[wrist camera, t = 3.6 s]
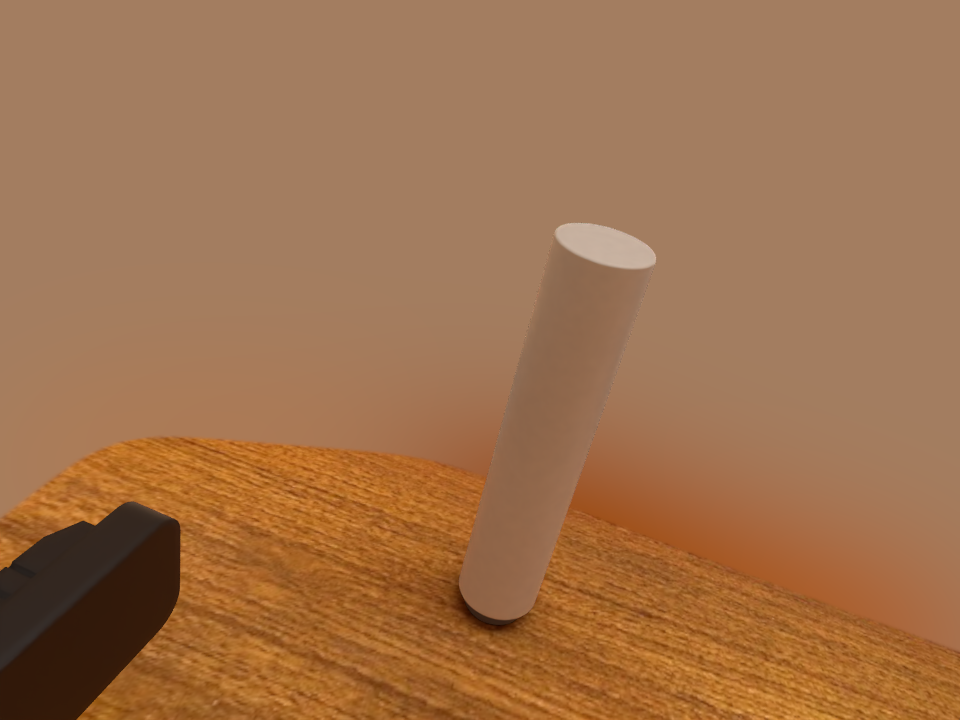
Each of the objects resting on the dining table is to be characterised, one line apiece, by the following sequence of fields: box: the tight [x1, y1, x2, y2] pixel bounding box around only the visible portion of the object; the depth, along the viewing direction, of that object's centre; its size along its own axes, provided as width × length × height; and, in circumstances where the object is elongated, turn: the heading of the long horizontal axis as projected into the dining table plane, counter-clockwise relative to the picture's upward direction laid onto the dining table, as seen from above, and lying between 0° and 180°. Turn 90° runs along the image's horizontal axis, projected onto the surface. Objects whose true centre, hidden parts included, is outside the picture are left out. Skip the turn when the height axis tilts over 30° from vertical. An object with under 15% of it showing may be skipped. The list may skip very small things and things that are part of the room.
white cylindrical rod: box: [459, 223, 656, 625], centre depth 22 cm, size 3×3×13 cm
